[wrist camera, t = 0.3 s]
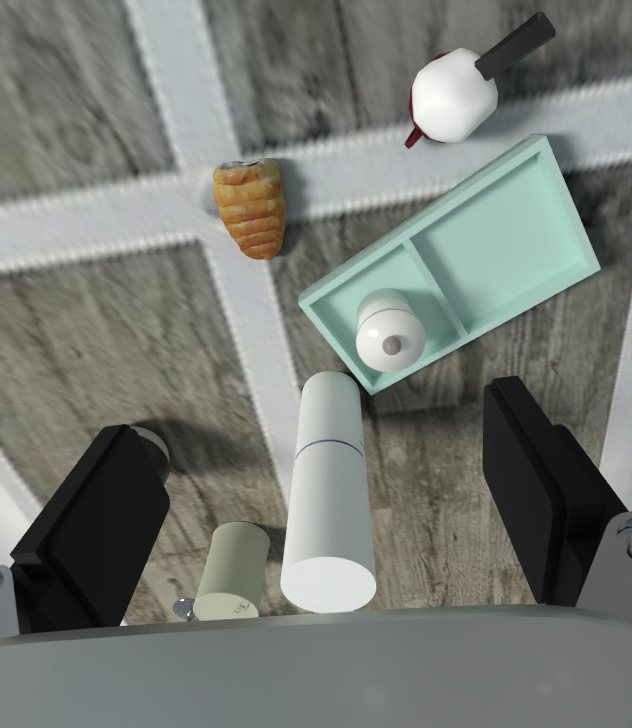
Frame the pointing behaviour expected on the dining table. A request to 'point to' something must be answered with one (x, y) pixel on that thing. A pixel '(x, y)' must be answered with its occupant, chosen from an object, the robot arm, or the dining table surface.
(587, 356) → the dining table surface
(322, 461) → the cylindrical container
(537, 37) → the cocoa
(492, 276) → the tray
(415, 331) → the sugar pot
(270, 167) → the pastry
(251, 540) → the can
